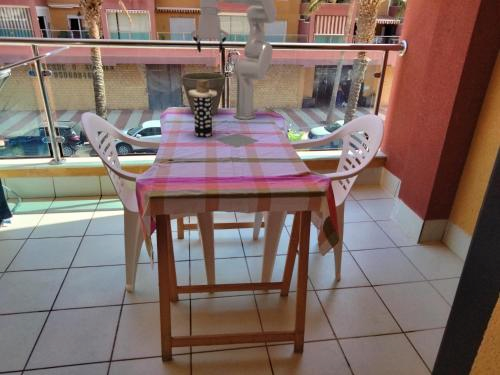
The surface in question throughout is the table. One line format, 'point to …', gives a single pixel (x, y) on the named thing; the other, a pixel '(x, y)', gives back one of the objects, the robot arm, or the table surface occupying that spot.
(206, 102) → the polka dot cylinder
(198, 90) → the lid
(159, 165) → the table surface
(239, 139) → the mat
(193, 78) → the plant pot
